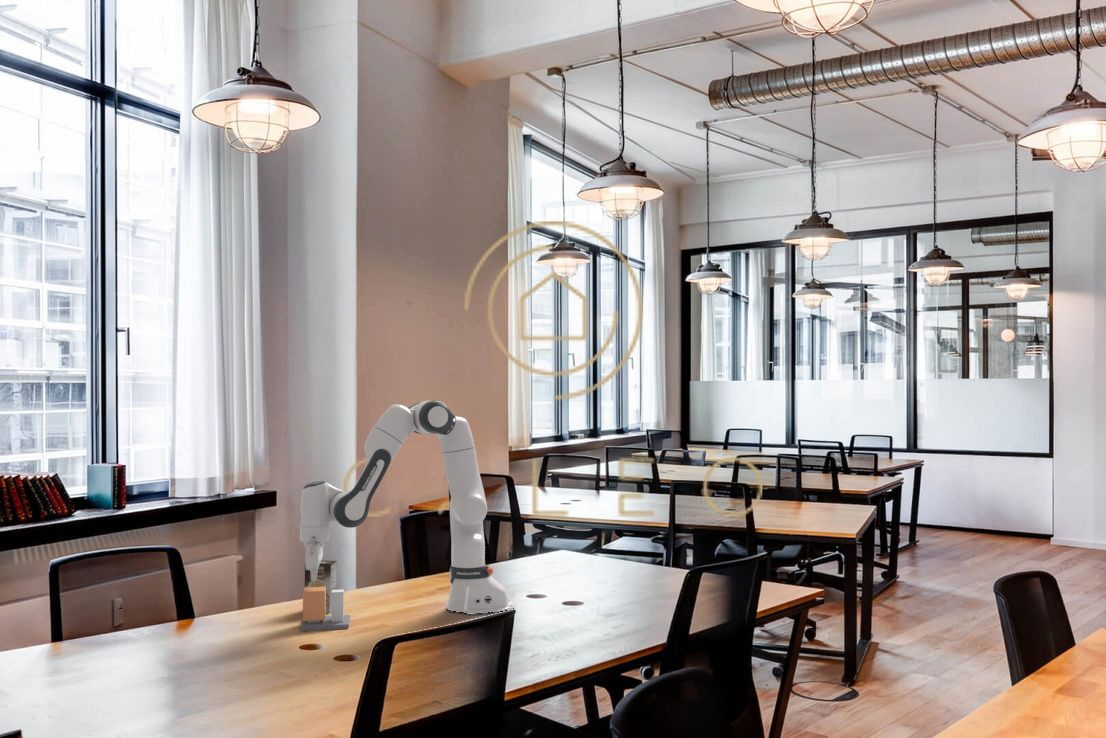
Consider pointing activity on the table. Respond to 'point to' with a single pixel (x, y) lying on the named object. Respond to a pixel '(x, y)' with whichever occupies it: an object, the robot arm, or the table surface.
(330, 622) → the post base
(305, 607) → the orange block
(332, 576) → the coffee box
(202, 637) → the table surface
